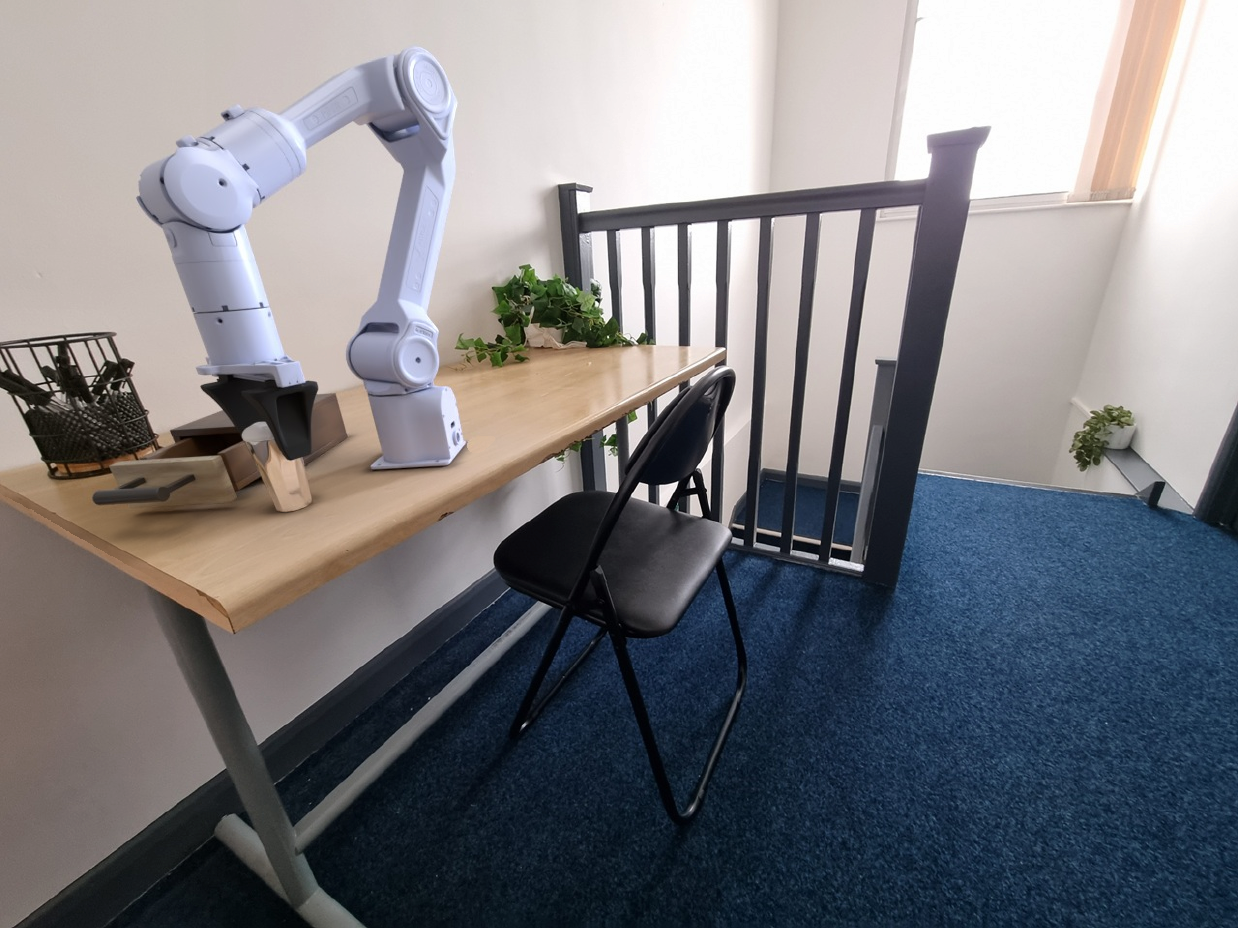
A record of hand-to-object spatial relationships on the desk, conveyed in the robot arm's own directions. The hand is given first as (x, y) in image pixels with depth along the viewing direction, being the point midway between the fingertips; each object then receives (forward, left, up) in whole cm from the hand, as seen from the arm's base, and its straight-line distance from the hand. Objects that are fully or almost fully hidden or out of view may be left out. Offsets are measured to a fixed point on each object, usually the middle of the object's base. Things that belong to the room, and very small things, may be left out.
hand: (280, 451), depth 50 cm
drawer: (+11, -4, -5) cm, 13 cm away
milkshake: (0, 0, -6) cm, 6 cm away
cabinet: (+11, -15, -6) cm, 20 cm away
